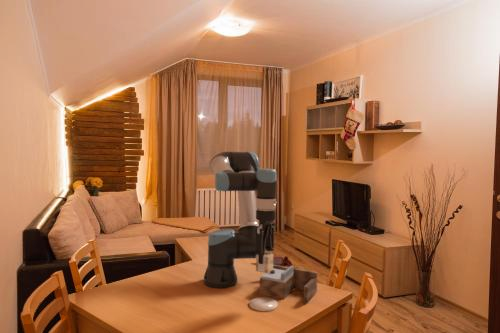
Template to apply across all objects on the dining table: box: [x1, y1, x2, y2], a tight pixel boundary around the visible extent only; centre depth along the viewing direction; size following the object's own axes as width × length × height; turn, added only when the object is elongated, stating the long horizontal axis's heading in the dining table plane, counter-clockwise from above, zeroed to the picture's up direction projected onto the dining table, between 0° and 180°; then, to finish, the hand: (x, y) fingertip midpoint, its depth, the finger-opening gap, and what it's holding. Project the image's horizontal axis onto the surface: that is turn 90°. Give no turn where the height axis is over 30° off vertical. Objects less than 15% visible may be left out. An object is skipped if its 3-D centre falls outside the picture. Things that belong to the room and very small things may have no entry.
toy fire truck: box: [273, 255, 294, 267], centre depth 171 cm, size 7×12×10 cm, turn 98°
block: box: [255, 253, 274, 274], centre depth 141 cm, size 5×5×6 cm
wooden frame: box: [259, 265, 319, 304], centre depth 154 cm, size 20×14×8 cm
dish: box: [249, 297, 279, 312], centre depth 142 cm, size 11×11×1 cm
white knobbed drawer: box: [260, 264, 295, 283], centre depth 155 cm, size 10×12×4 cm
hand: (264, 269), depth 141 cm, fingers closed on block, 5 cm apart
